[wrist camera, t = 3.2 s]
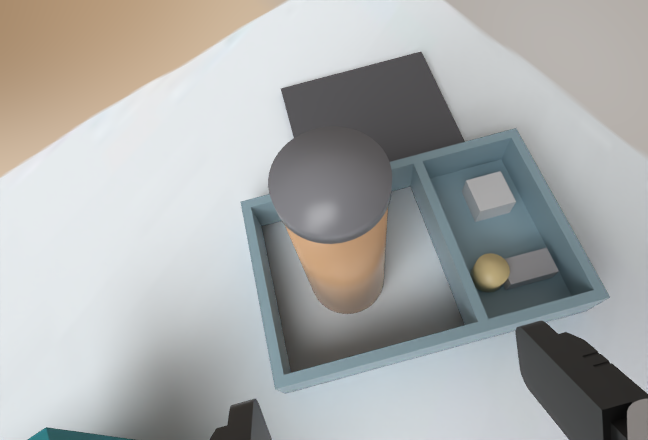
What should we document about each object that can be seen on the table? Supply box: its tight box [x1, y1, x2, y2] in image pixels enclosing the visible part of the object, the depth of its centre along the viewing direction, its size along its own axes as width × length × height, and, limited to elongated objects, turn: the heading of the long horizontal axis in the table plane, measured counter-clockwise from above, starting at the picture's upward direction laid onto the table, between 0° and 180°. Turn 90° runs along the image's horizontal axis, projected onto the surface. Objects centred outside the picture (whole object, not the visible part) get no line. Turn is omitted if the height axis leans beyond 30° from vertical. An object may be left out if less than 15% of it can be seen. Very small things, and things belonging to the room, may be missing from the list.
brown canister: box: [268, 126, 392, 314], centre depth 24 cm, size 5×5×13 cm
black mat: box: [281, 52, 464, 162], centre depth 35 cm, size 12×10×1 cm
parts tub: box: [241, 128, 610, 393], centre depth 28 cm, size 19×12×3 cm, turn 104°
